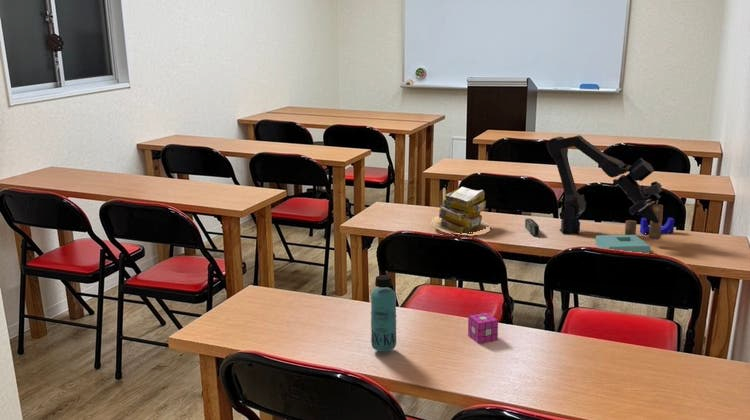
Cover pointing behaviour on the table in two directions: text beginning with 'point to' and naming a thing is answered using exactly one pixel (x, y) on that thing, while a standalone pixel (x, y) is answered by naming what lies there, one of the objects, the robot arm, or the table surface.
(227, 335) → the table surface
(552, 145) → the robot arm
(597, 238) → the teal hole plate
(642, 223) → the cable clip
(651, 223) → the tall walnut pin
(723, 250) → the table surface
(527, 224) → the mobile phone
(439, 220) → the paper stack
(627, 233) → the short walnut pin
